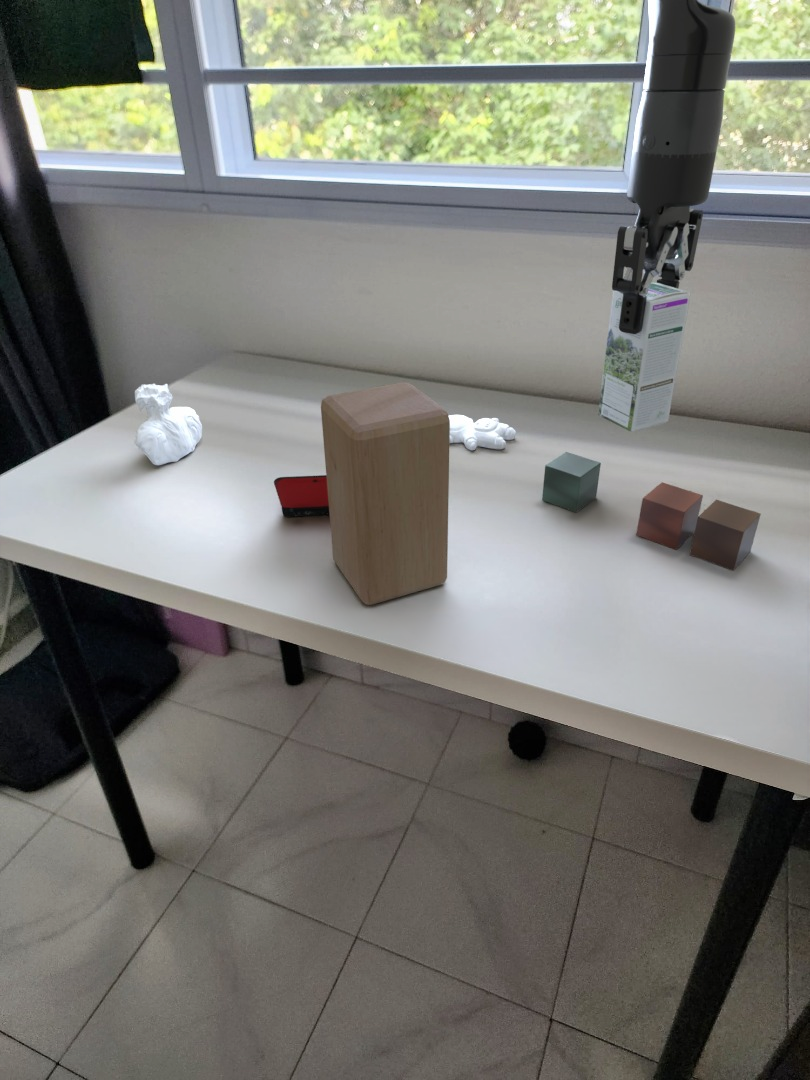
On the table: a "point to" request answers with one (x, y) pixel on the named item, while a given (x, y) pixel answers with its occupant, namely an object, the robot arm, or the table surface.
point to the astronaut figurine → (479, 432)
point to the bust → (165, 426)
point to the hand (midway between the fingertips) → (646, 323)
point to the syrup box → (644, 360)
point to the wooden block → (387, 489)
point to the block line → (661, 512)
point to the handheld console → (303, 495)
